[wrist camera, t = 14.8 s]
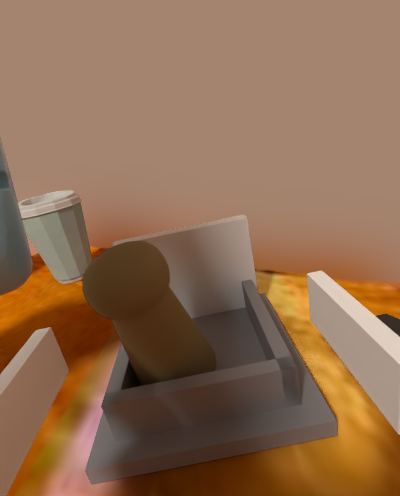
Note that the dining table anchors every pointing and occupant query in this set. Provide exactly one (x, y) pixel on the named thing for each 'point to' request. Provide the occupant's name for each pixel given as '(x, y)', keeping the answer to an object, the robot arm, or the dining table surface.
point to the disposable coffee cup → (58, 233)
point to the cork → (146, 313)
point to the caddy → (219, 381)
